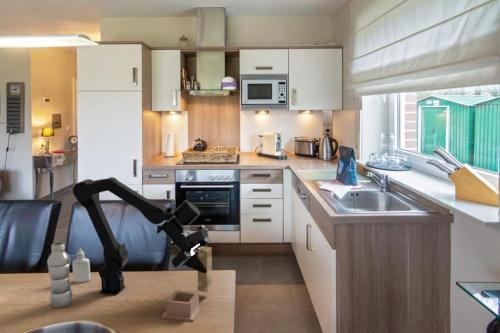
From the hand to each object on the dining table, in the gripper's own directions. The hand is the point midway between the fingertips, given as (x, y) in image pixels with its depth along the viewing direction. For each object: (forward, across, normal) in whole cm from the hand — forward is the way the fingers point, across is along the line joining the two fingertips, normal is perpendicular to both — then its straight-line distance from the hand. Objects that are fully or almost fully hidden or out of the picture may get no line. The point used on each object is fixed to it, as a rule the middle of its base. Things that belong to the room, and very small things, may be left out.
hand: (208, 270), depth 134 cm
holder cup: (+4, -12, +8) cm, 15 cm away
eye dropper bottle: (-28, -4, +41) cm, 49 cm away
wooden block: (+4, 0, +6) cm, 7 cm away
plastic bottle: (-23, -21, +36) cm, 47 cm away
